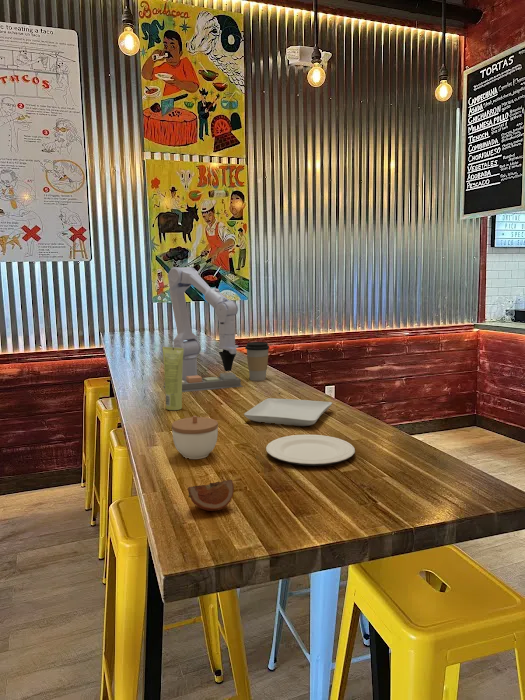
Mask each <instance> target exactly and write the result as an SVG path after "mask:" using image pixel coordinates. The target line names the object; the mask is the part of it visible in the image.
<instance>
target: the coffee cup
mask: <svg viewBox="0 0 525 700" xmlns="http://www.w3.org/2000/svg"><path fill="white" fill-rule="evenodd" d="M270 349H271V348H270V346H269V343H268V342H263V341H252V342H247V343H246V346H245V347H244V350H246V360H247V368H248V375H249V380H250V381H255V382H262V381H265V380H267V379H266V378H267V370H268V363H269V362H268V361H269V350H270Z"/></svg>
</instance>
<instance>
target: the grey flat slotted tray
mask: <svg viewBox="0 0 525 700" xmlns="http://www.w3.org/2000/svg"><path fill="white" fill-rule="evenodd" d="M216 377H217V378H218V379H219V381H209V382H206V381H204V380H203V378H204V377H202V382H197V383H188V382H187V381H186V380H184V379H182V380H183V381H184V382H185V384H182V393H186V392H187V393H188V392H198V391H199V392H200V391H208V390H219V389H229V388H231V389H232V388H233V389H234V388H241V387H242V388H243V387H244V386H243V385H242V383H241V382H242V380H241V378H240V377H237V376H236V379H232V380H222V379H220V376H216ZM163 384H164V385H162V387H163V389H165V381H164V382H163Z"/></svg>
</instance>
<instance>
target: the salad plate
mask: <svg viewBox="0 0 525 700" xmlns="http://www.w3.org/2000/svg"><path fill="white" fill-rule="evenodd" d="M332 405H333V402H332V401H321V400H310V399H309V400H307V399H294V398H293V399H291V398H275V397H274V398H273V397H271V398H269V397H268V398H267V397H266V399H264V400H263V401H261V402H259V403H258V404H256V405H254V406H253V407H252V408H250V409H248V410H247V411H246V412H244V413H243V415H244V416H245V418H246V419H248V420H250V421H252V422H257V423H261V422H265V423H264V424H271V423H275V424H274V425H281V424H284V426H292V425H294V426H295V427H309V426H313V425H315V424H316V422H317V421H318V420H319V418H320V417H321V416H322V415H323V414H324V413H325V412H327V410H329V408H330V407H331V406H332Z"/></svg>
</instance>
